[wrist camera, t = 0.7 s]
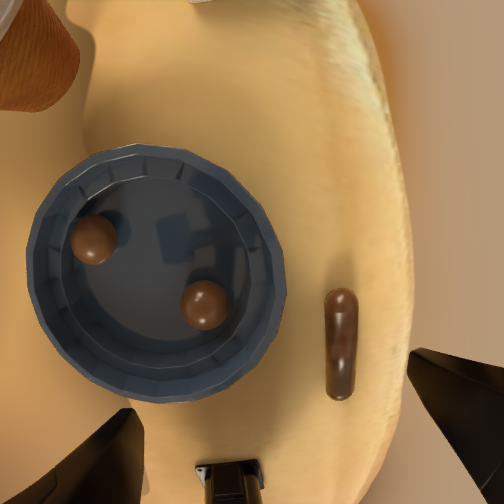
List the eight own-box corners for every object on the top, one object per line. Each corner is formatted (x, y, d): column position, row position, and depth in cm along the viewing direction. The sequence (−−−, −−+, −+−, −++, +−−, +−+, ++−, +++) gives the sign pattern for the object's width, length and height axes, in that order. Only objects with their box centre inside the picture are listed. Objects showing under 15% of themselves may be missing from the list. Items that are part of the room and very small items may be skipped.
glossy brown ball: (127, 254, 18) (112, 267, 15) (88, 260, 18) (68, 274, 15) (118, 207, 17) (101, 213, 14) (78, 216, 17) (57, 223, 14)
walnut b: (231, 313, 19) (234, 335, 17) (187, 319, 19) (183, 342, 16) (224, 270, 19) (226, 286, 16) (178, 277, 19) (171, 294, 16)
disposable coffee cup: (122, 25, 15) (57, -77, 3) (67, 145, 16) (-63, 125, 5) (34, 20, 13) (-43, -38, 1) (-12, 124, 15) (-118, 112, 3)
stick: (347, 385, 23) (357, 401, 21) (322, 392, 23) (330, 409, 21) (350, 280, 21) (364, 292, 18) (319, 286, 21) (331, 299, 18)
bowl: (281, 349, 21) (294, 386, 17) (94, 370, 20) (76, 404, 16) (255, 136, 18) (267, 122, 13) (42, 181, 17) (5, 183, 12)
